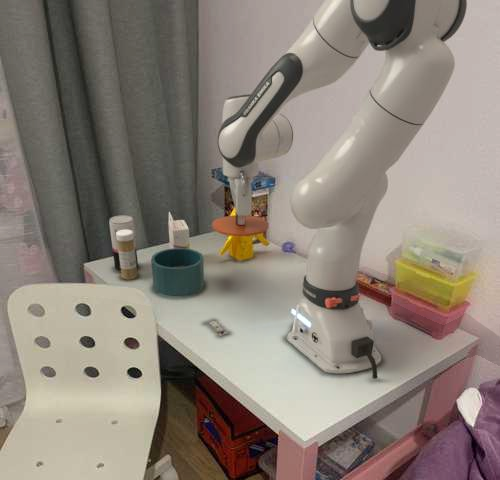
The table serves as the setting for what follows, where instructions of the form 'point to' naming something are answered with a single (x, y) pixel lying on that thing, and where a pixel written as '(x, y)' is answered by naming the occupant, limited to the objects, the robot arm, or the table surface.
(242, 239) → the figure statuette
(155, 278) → the tin
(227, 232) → the lid
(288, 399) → the table surface
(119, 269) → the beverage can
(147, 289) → the table surface
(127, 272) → the sprinkles bottle
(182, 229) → the ink cartridge box
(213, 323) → the granola bar
